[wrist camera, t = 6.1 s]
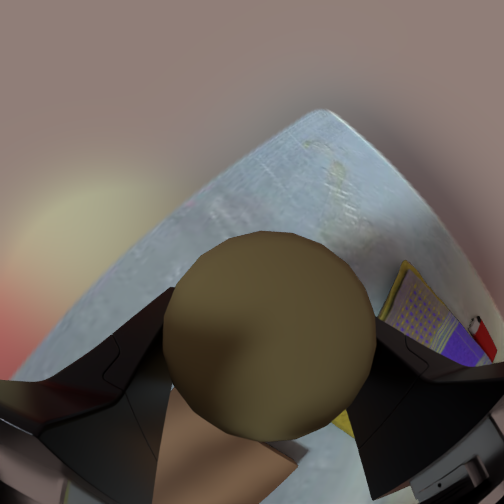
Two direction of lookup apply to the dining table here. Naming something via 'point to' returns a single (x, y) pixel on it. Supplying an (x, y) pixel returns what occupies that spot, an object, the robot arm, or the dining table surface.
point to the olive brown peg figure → (269, 336)
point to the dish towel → (424, 325)
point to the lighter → (482, 337)
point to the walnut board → (213, 462)
